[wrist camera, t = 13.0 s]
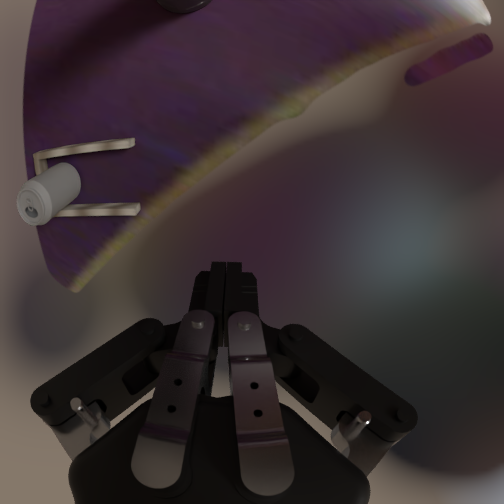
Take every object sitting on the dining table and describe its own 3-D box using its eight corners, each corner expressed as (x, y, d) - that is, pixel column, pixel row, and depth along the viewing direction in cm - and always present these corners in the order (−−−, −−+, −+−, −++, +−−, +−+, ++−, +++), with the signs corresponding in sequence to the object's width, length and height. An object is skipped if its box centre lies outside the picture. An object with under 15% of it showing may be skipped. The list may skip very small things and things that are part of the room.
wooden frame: (134, 137, 38) (128, 140, 36) (140, 209, 45) (135, 215, 43) (40, 150, 37) (33, 154, 35) (51, 211, 44) (44, 217, 42)
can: (52, 195, 42) (15, 225, 32) (52, 158, 39) (11, 181, 28) (82, 203, 44) (47, 235, 33) (84, 164, 40) (45, 188, 30)
